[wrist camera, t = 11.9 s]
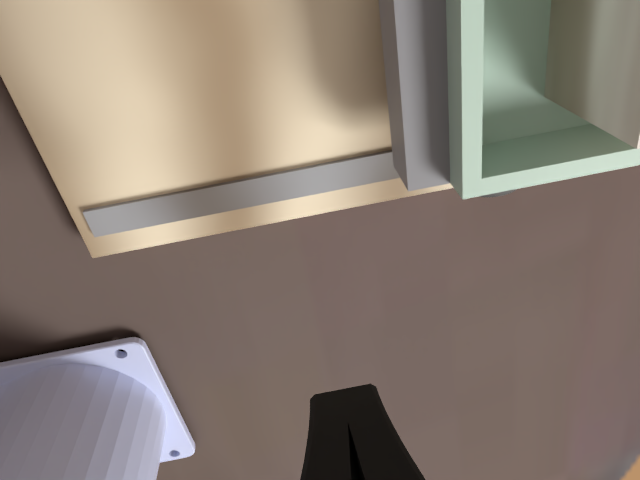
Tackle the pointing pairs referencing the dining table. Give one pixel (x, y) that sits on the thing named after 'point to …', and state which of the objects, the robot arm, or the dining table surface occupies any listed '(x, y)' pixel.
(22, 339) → the dining table surface
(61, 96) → the track board
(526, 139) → the cart
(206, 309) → the dining table surface
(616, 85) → the block
